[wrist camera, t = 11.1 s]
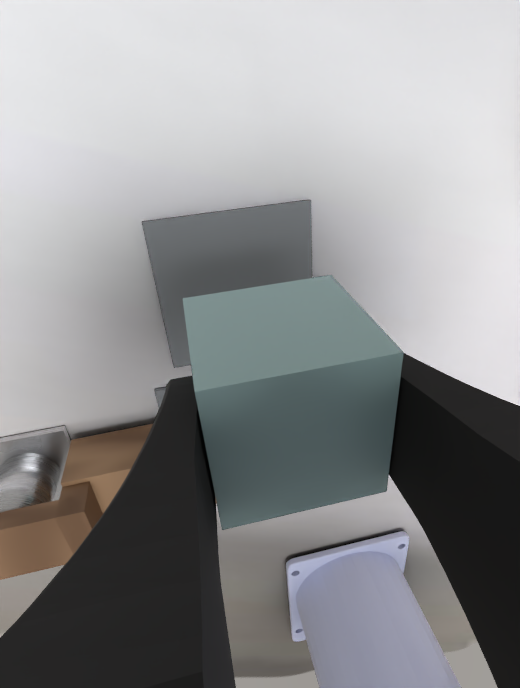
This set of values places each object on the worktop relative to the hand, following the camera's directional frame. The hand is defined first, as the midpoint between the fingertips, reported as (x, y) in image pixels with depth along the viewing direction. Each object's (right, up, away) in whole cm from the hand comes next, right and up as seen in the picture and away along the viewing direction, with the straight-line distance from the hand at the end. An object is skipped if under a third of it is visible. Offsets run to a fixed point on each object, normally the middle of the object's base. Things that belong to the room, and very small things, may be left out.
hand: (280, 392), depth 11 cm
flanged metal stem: (-11, -4, +8) cm, 14 cm away
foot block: (0, +1, +2) cm, 2 cm away
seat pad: (-1, +3, +6) cm, 7 cm away
